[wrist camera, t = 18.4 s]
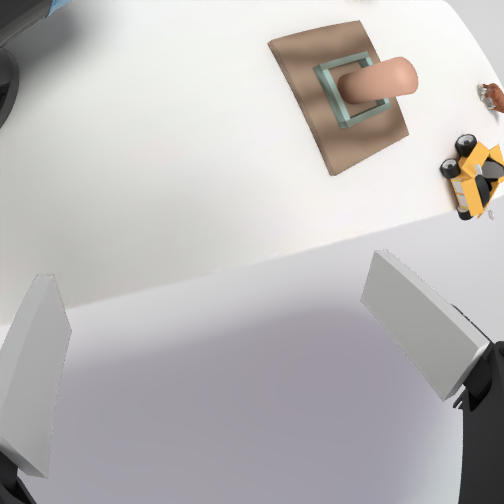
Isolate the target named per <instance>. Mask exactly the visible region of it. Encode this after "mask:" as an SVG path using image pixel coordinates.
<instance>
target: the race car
mask: <svg viewBox="0 0 504 504" xmlns="http://www.w3.org/2000/svg"><path fill="white" fill-rule="evenodd" d="M456 145H457V147H458V150H459V152H460V154H461V156H462V157H461V158H460V160H459V161H457V160H456V159H448V160H446V161H444V162H443V163H442V165H441V169H442V171H443V174H444V176H445V177H446V178H448V179H450V180H451V183H452V185H453V188H454V191H455V194H456V196H457V199H458V202H459V205H458V207H457V211H458V214H459V217H460V218H461V219H462V220H469V219H471V218H472V217H473V216H474V215H478V214H479V216H478V217H477V218H479V217H480V216H481V215H482V213H483V212H484V211H485V210H487V211H488V213H489V217H490V219H492V220H493V219H494V214H493V211H490V210H488V209H487V208H486V207H487V205H488V203H489V202H490V200H491V198H492V197H493V195H494V193H495V191H496V189H497V187H498V185H499V184H500V183H501V182H502V181H504V161H503V158H502V154H501V151H500V147H499V144H498V145H496V146H495V147H493V148H492V149H490V150H488V149H487V148H486V147H485V146H484V145H483V144H481V143H480V142H478V143H477V140H476V138H475V136H474V135H471V134H467V135H463V136H461V137H459V138H458V140H457V141H456Z"/></svg>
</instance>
